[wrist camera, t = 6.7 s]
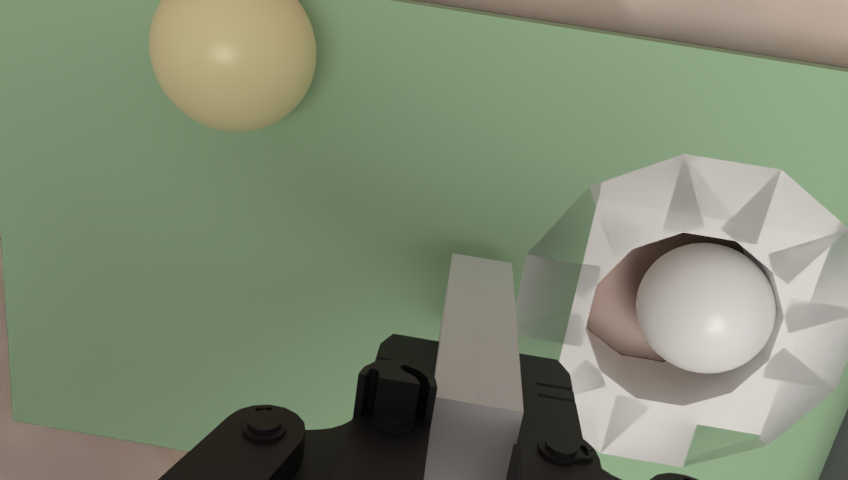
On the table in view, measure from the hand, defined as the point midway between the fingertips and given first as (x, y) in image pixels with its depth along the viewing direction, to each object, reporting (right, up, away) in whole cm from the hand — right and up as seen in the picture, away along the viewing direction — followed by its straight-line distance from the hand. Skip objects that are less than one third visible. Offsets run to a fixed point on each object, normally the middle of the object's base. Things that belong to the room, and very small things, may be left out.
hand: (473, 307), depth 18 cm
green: (0, +1, +4) cm, 4 cm away
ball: (+7, 0, +2) cm, 7 cm away
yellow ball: (-5, +6, -2) cm, 8 cm away
